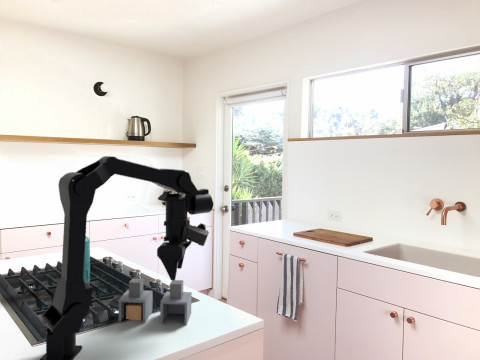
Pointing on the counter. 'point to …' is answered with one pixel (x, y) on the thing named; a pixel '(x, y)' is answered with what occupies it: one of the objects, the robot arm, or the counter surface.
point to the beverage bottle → (87, 261)
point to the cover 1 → (136, 299)
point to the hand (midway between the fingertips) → (176, 273)
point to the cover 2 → (176, 301)
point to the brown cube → (134, 311)
